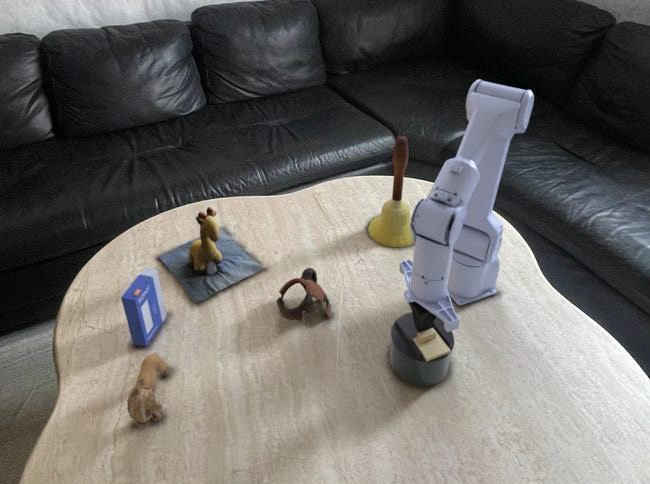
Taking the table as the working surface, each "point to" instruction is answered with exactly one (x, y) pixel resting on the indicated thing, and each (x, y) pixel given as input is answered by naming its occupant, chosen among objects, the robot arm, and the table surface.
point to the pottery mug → (307, 305)
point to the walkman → (144, 306)
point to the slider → (430, 344)
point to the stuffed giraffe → (209, 260)
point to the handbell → (394, 205)
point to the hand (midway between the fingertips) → (422, 329)
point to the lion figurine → (146, 390)
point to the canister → (417, 353)
